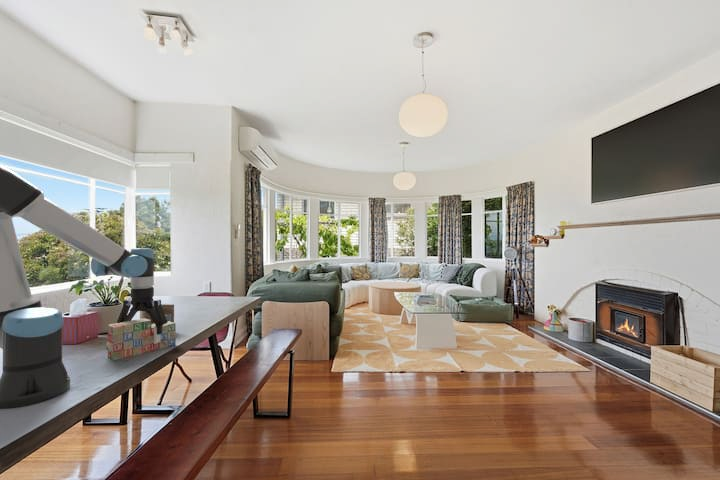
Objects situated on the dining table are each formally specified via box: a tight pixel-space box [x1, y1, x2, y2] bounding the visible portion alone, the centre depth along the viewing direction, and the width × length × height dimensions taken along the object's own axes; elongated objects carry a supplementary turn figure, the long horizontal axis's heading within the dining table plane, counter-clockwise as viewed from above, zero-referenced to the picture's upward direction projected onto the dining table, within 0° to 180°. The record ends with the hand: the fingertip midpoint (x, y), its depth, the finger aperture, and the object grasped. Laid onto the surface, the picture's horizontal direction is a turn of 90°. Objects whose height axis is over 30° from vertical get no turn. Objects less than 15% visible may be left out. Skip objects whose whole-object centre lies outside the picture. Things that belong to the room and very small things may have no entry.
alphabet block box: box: [106, 303, 175, 349], centre depth 139 cm, size 24×12×13 cm, turn 177°
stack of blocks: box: [107, 318, 177, 361], centre depth 124 cm, size 21×6×12 cm, turn 144°
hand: (142, 342), depth 124 cm, fingers open, 12 cm apart
